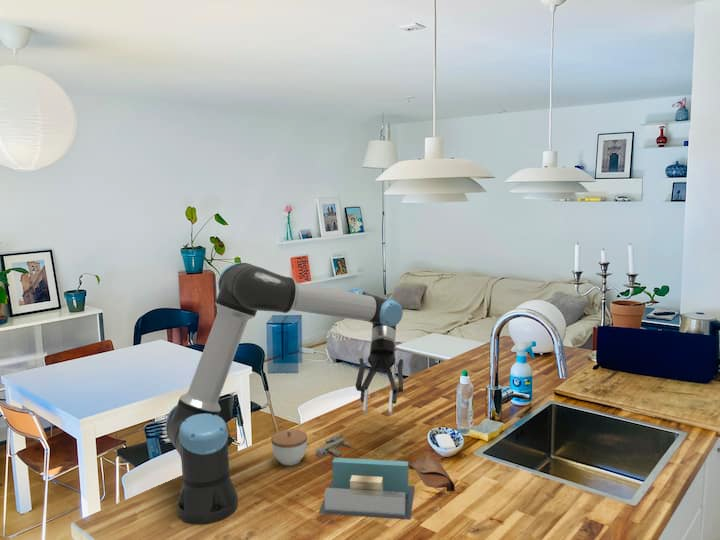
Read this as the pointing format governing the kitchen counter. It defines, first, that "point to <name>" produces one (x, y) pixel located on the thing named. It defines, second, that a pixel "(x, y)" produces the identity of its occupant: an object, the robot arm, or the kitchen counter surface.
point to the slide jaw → (372, 473)
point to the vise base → (368, 503)
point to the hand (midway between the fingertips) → (377, 412)
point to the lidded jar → (289, 446)
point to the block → (366, 483)
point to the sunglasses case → (432, 472)
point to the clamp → (323, 450)
